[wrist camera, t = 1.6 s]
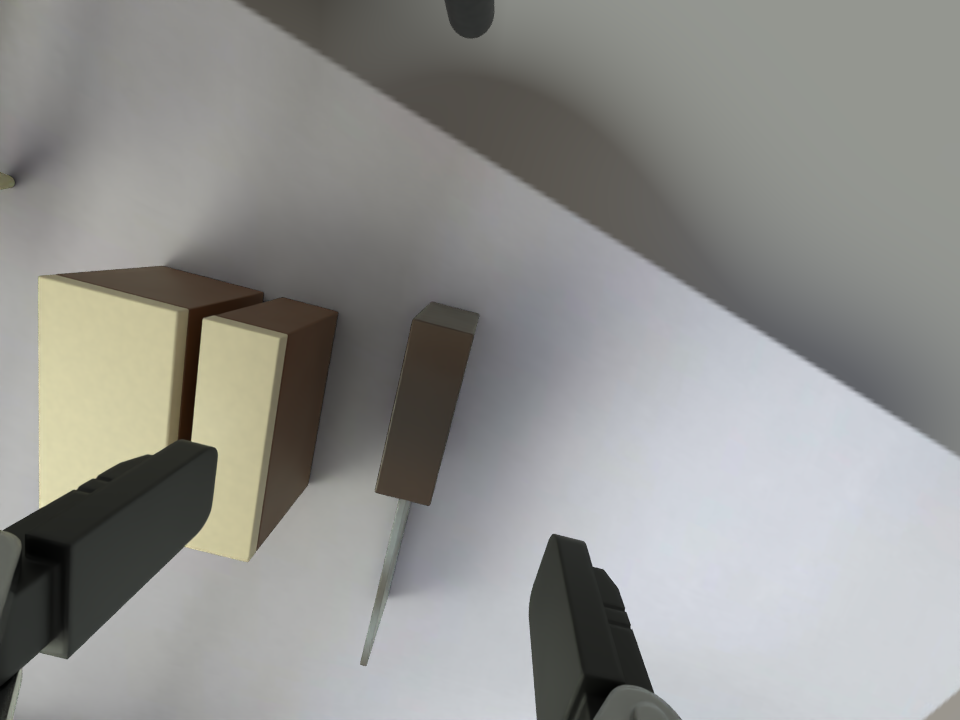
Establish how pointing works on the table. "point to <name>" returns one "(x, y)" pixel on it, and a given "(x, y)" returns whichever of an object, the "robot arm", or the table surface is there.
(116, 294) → the cake
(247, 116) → the table surface
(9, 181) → the ice cream cone
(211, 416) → the cake slice
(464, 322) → the knife
